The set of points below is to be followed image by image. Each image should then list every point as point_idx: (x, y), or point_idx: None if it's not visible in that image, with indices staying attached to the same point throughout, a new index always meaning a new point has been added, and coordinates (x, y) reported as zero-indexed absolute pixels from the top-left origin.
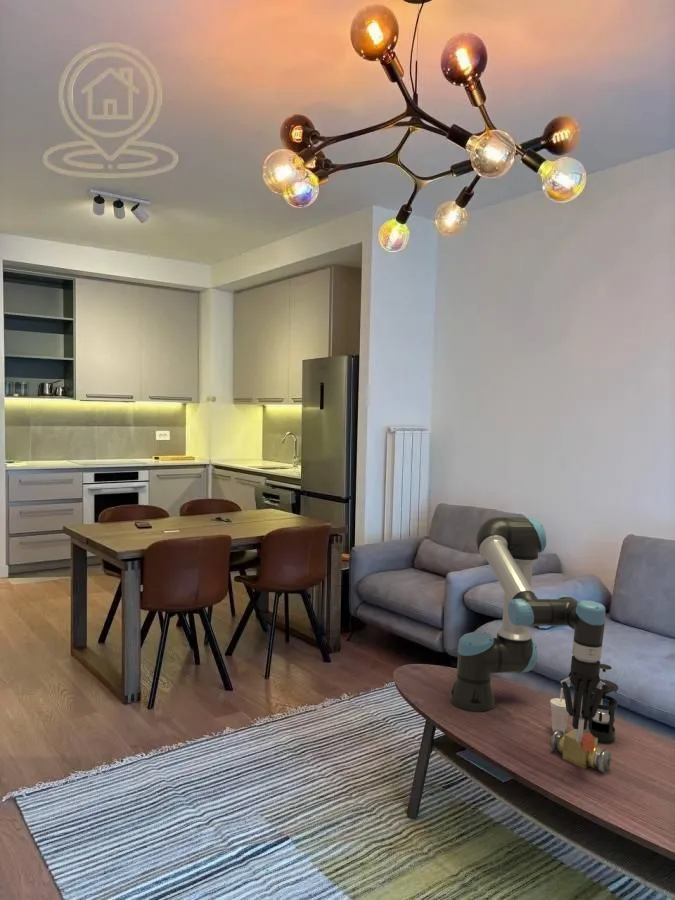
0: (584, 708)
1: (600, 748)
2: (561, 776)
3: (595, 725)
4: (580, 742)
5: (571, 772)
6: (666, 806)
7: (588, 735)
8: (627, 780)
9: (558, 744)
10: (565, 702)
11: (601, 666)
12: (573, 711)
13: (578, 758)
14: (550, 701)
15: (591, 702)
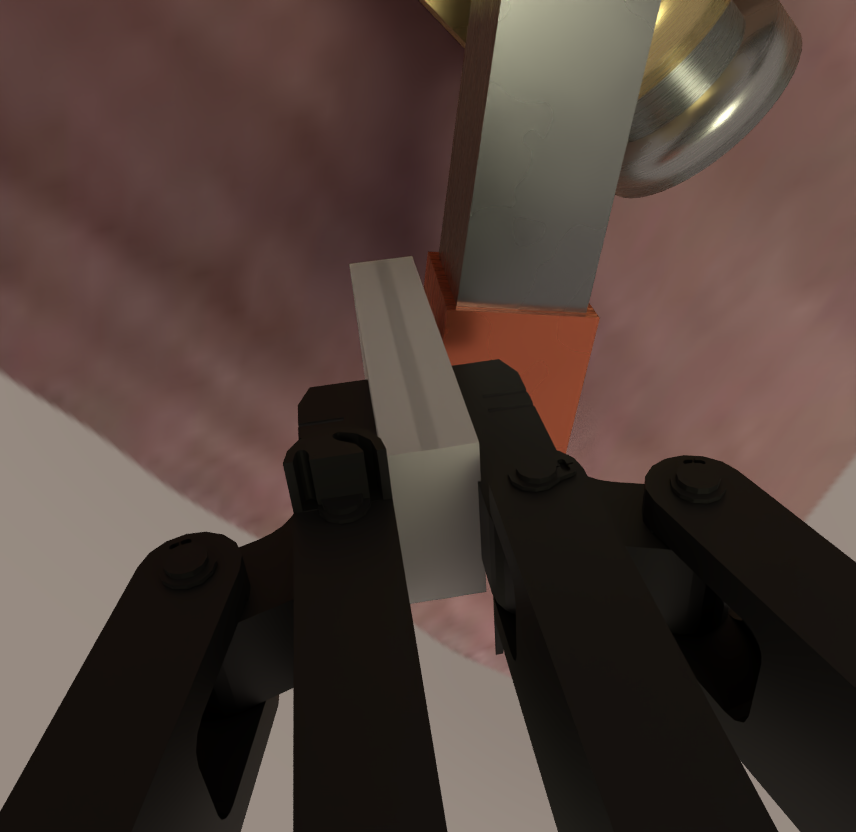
0: (537, 748)
1: (716, 16)
2: (229, 242)
3: None
4: (427, 271)
5: (332, 155)
6: (851, 454)
7: (529, 380)
8: (779, 192)
9: None
10: (35, 780)
11: None
12: (283, 666)
13: (435, 16)
14: None
15: (832, 699)
